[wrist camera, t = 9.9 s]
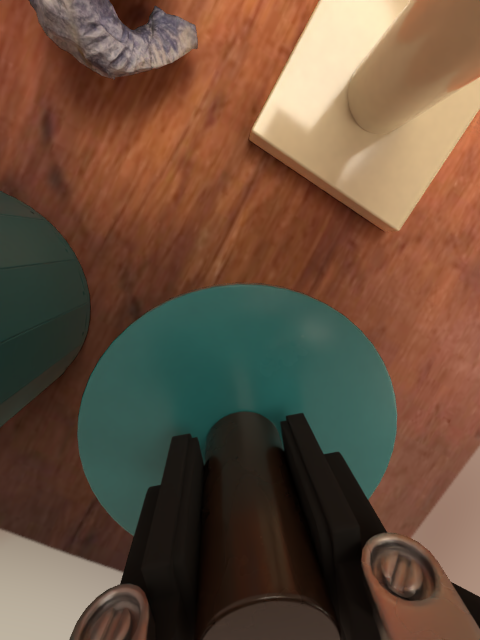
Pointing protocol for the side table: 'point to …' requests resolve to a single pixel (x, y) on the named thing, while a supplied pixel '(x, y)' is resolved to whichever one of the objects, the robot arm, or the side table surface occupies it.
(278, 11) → the side table surface
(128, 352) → the lid
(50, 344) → the pot
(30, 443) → the side table surface
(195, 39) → the seashell
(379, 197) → the pedestal
